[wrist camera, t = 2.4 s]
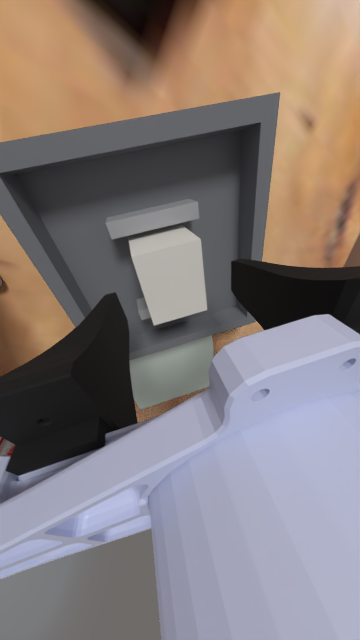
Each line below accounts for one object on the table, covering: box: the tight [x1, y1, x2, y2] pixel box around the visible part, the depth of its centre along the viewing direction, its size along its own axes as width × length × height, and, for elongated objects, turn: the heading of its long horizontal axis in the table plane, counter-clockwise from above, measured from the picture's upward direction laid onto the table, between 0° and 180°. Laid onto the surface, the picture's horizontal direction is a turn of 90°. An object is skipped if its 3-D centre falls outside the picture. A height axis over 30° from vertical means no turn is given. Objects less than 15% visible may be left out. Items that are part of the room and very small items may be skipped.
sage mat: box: [129, 335, 214, 410], centre depth 26 cm, size 12×12×1 cm
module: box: [128, 223, 207, 325], centre depth 14 cm, size 4×5×5 cm
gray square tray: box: [0, 92, 280, 361], centre depth 16 cm, size 16×16×3 cm
